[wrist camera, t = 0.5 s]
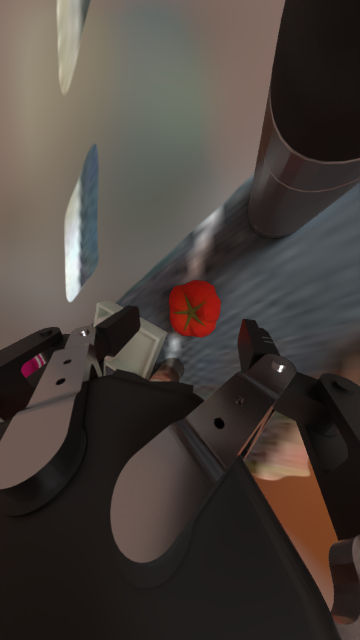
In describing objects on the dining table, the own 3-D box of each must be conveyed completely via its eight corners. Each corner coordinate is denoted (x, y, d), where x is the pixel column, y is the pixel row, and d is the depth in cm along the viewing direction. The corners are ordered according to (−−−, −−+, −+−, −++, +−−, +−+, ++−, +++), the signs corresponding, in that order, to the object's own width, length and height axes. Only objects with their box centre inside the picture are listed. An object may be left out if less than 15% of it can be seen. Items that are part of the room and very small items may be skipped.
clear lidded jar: (168, 353, 37) (140, 385, 26) (187, 365, 36) (166, 403, 25) (161, 369, 39) (132, 405, 28) (179, 380, 38) (156, 422, 27)
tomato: (177, 328, 34) (165, 339, 28) (175, 280, 31) (161, 280, 25) (220, 333, 31) (216, 346, 25) (223, 279, 28) (219, 279, 22)
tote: (110, 300, 39) (97, 302, 35) (167, 332, 35) (159, 338, 32) (100, 347, 45) (88, 353, 41) (149, 378, 41) (140, 388, 38)
